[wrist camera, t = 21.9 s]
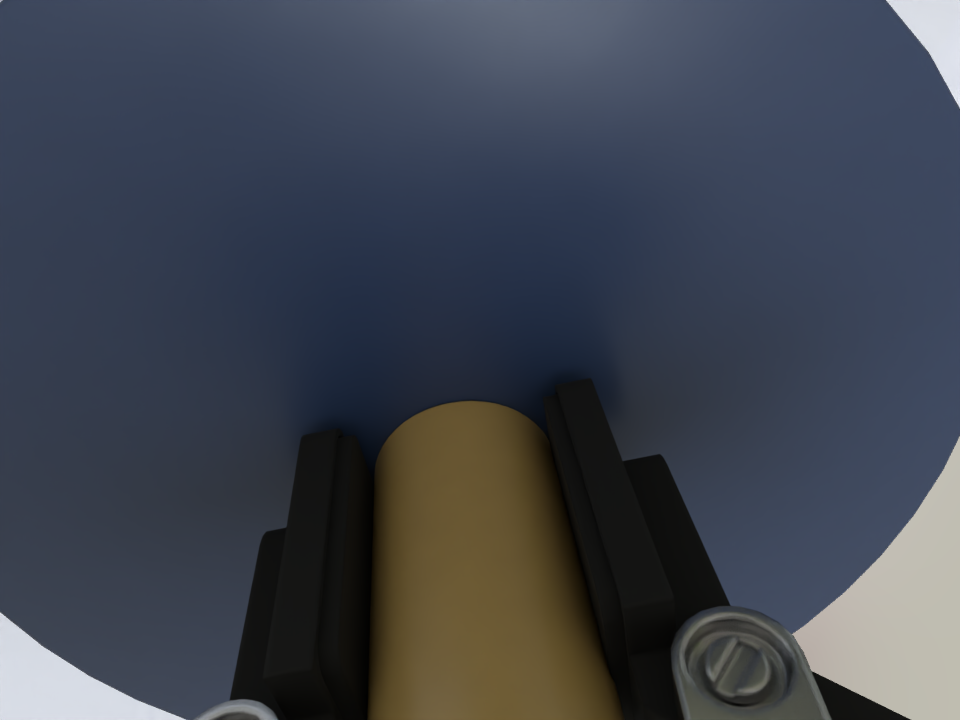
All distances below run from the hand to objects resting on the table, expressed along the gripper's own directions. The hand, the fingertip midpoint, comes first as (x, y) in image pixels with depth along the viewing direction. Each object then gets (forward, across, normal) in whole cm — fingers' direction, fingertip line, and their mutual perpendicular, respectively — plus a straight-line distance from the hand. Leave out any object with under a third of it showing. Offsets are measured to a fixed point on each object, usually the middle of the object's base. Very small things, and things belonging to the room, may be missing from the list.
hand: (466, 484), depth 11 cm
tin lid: (+1, 0, 0) cm, 1 cm away
